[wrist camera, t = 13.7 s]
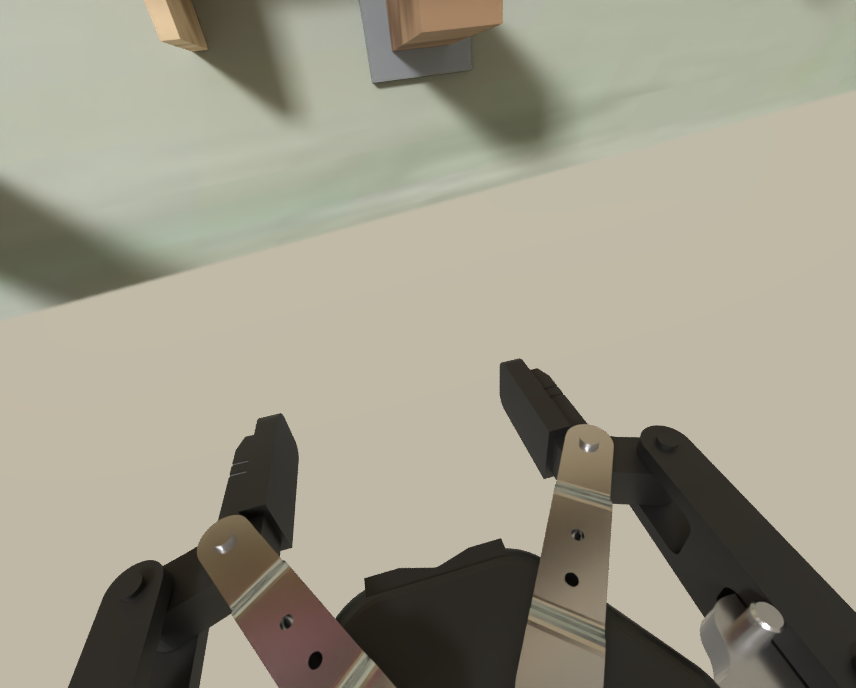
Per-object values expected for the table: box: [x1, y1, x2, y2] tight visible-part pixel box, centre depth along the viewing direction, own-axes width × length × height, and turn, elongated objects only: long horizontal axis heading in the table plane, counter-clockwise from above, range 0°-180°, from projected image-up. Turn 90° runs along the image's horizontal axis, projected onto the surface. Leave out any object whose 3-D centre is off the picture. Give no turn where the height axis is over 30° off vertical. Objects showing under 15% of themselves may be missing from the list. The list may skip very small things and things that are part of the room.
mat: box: [359, 0, 472, 83], centre depth 31 cm, size 9×9×1 cm
